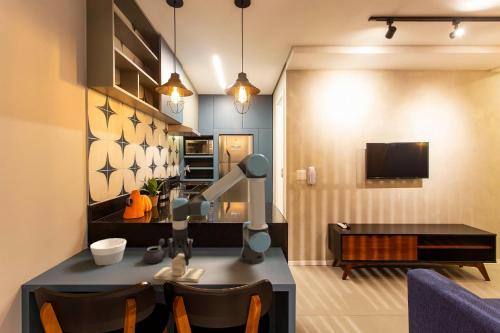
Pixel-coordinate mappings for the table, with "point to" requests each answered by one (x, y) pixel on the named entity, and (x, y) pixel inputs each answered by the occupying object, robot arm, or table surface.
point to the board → (189, 275)
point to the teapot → (155, 253)
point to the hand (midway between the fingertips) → (180, 270)
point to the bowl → (108, 251)
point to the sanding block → (178, 265)
